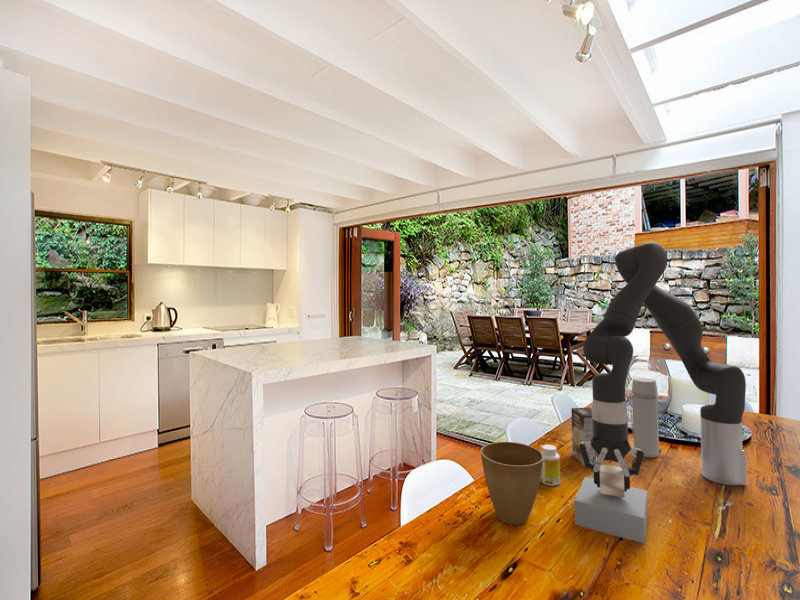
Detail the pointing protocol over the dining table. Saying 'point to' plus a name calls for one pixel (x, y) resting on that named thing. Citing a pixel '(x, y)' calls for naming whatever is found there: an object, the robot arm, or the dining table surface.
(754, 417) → the dining table surface
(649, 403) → the water bottle
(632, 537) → the slate block
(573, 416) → the coffee box
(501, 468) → the plant pot
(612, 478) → the cream cube
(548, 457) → the supplement bottle
